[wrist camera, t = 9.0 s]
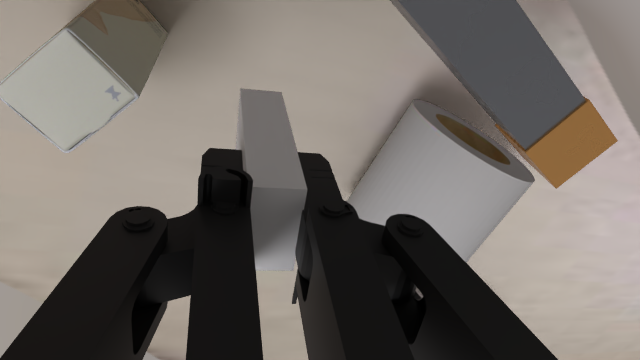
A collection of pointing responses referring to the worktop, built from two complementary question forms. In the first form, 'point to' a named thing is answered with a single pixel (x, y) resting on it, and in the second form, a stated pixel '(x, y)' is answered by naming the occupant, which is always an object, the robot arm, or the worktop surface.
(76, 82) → the box
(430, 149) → the toilet paper
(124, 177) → the worktop surface
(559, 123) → the bar
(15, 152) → the worktop surface
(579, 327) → the worktop surface
